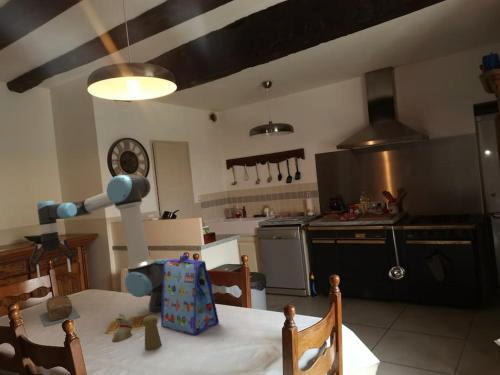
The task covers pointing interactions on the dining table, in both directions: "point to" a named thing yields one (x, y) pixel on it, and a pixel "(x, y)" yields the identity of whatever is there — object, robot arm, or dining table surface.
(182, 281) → the lunch bag
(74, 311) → the mat
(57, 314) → the block
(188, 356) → the dining table surface
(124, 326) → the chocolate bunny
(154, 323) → the cork
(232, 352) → the dining table surface
